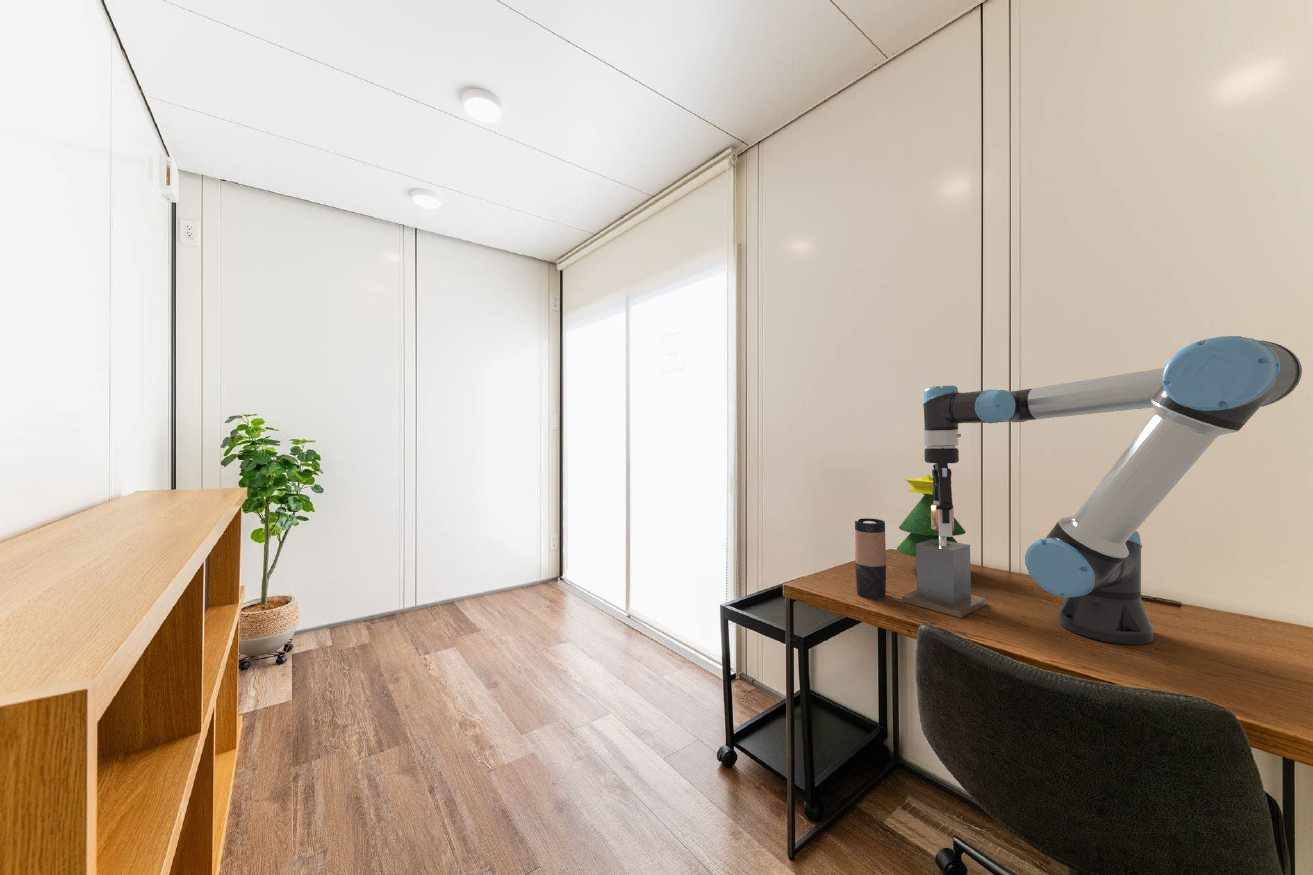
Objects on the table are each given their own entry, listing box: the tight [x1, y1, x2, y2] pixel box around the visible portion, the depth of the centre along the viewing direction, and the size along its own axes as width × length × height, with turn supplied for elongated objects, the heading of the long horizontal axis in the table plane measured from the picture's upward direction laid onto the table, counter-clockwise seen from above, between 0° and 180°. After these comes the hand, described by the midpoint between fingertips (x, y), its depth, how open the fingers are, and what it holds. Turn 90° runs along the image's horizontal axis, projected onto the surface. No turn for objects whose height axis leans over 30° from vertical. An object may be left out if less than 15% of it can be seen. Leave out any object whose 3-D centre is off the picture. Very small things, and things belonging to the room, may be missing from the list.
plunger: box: [931, 504, 955, 546], centre depth 125 cm, size 5×5×21 cm
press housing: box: [901, 539, 987, 619], centre depth 125 cm, size 14×14×15 cm
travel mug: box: [854, 517, 887, 600], centre depth 133 cm, size 8×8×20 cm
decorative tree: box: [896, 474, 967, 558], centre depth 152 cm, size 19×19×30 cm
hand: (942, 530), depth 125 cm, fingers open, 13 cm apart
